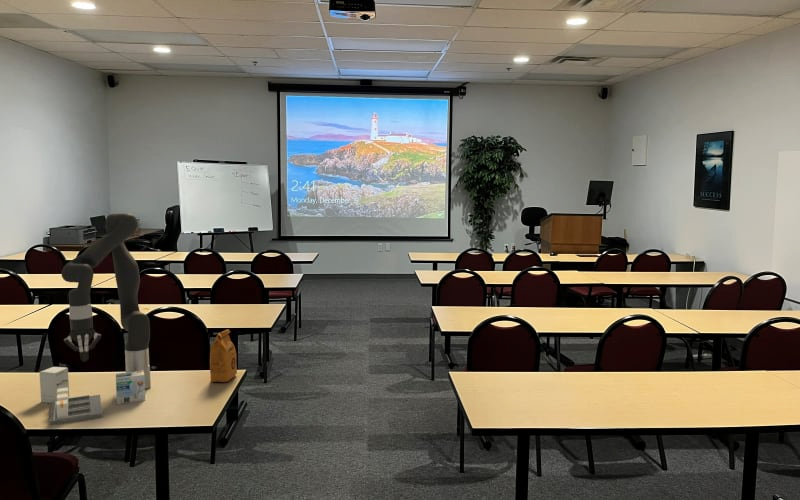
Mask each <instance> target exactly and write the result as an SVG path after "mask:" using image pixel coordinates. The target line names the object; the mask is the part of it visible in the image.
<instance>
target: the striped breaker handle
mask: <svg viewBox="0 0 800 500" xmlns="http://www.w3.org/2000/svg"><path fill="white" fill-rule="evenodd" d="M56 408H57V418H60V417H66V416H68V403H67V400H61V401H57V402H56Z"/></svg>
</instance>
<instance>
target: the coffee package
mask: <svg viewBox="0 0 800 500" xmlns="http://www.w3.org/2000/svg"><path fill="white" fill-rule="evenodd" d="M230 333H231V331H230V329H225V330H223V331H221V332H219V333H218V334H217V335H216V337H215V339H214V340H213V342H212V344H211V346H210V352H209V372H210V382H211V383H217V382H218V383H220V382H221V383H228V382H229V381H230V380H232V379H233V378H234V377H236V375H237V373H238V369H237V368H238V367H237V351H236V348H235V345H234V343H233V342H232V341H231V338H230V335H229V334H230Z"/></svg>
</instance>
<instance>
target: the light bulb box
mask: <svg viewBox="0 0 800 500" xmlns="http://www.w3.org/2000/svg"><path fill="white" fill-rule="evenodd" d="M115 387H116V388H115V395H116V404H117V405H120V404H127V403H135V402H143V401H146V389H145V377H144V371H143V370H142V371H135V372H127V373H126V372H121V373H116V374H115Z"/></svg>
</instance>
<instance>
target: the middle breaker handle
mask: <svg viewBox="0 0 800 500" xmlns="http://www.w3.org/2000/svg"><path fill="white" fill-rule="evenodd" d="M68 398H69V397H68V393H67V394H60V395H57V401H61V400H67V403H68Z"/></svg>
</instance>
